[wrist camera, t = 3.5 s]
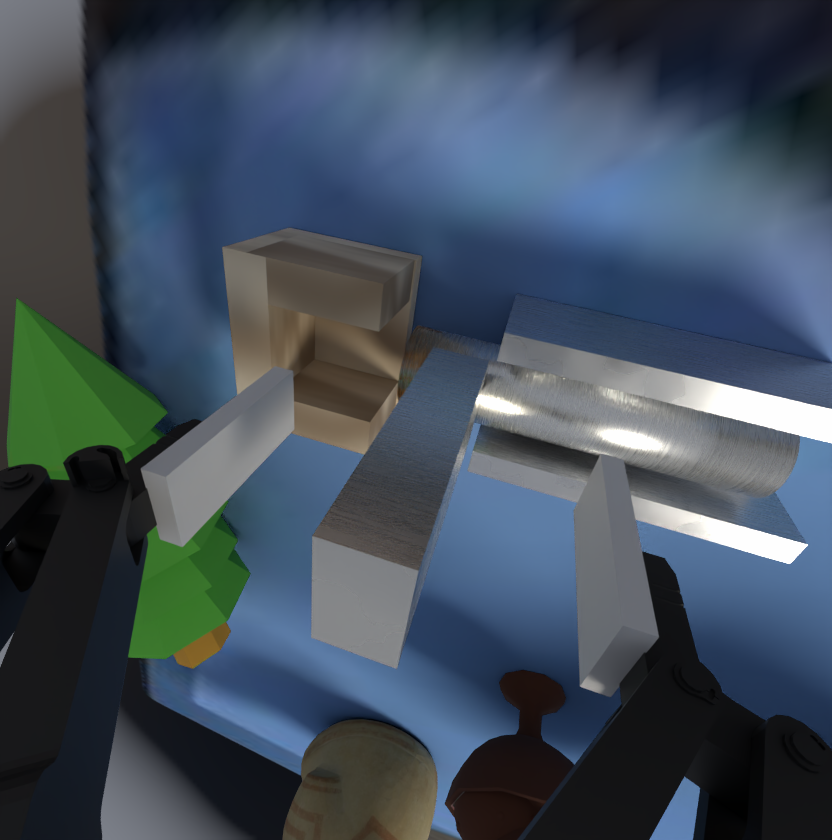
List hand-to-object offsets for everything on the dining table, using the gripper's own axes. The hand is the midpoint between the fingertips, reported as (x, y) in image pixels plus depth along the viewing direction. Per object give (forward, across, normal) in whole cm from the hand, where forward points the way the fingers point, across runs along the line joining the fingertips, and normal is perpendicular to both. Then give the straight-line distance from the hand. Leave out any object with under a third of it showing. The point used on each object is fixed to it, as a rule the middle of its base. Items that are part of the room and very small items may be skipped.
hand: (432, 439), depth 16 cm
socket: (+9, +7, 0) cm, 11 cm away
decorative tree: (+7, +16, +15) cm, 23 cm away
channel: (+9, -8, 0) cm, 12 cm away
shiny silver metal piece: (+7, -5, 0) cm, 9 cm away
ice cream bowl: (+9, -12, +29) cm, 32 cm away
